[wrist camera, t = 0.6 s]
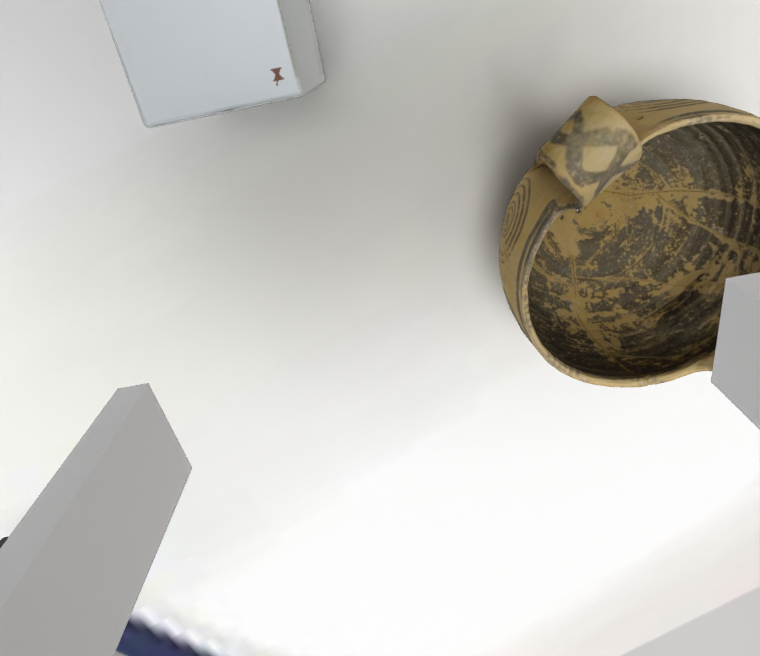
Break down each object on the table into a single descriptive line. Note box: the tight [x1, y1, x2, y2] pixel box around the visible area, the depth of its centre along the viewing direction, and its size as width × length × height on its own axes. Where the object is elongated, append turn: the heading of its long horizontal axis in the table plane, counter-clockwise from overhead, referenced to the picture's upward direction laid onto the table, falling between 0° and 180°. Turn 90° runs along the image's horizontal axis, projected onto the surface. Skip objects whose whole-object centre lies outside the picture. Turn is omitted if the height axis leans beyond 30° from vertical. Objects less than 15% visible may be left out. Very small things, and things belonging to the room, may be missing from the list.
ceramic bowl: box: [499, 96, 760, 387], centre depth 31 cm, size 22×17×15 cm
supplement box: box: [99, 0, 325, 127], centre depth 26 cm, size 7×7×13 cm
